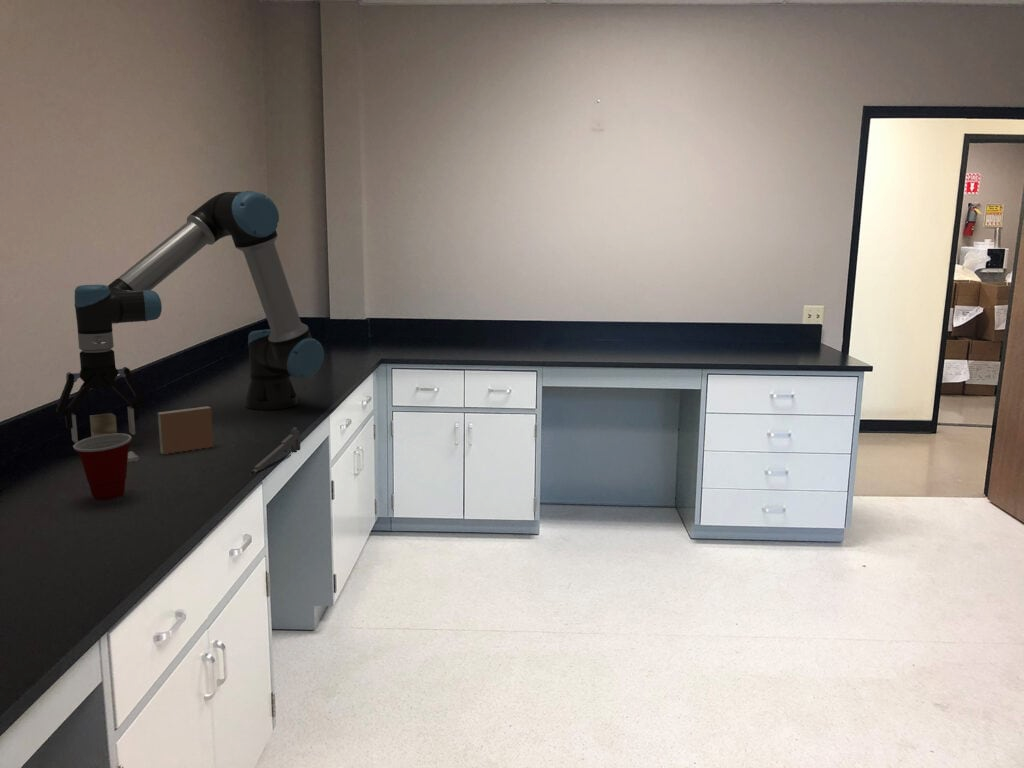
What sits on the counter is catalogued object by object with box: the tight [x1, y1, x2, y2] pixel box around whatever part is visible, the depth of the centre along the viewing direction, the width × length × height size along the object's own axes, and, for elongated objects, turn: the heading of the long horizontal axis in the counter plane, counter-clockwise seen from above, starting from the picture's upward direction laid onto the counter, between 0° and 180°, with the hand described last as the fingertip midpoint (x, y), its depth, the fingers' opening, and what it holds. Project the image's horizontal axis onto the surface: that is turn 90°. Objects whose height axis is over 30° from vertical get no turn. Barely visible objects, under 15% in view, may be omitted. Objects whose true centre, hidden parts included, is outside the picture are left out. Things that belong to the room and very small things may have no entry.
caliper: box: [252, 427, 301, 473], centre depth 201 cm, size 20×1×6 cm, turn 165°
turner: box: [89, 412, 140, 463], centre depth 206 cm, size 8×23×8 cm, turn 37°
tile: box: [157, 406, 214, 455], centre depth 209 cm, size 12×2×10 cm, turn 127°
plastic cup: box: [72, 432, 133, 501], centre depth 174 cm, size 11×11×12 cm
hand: (104, 437), depth 209 cm, fingers open, 12 cm apart
